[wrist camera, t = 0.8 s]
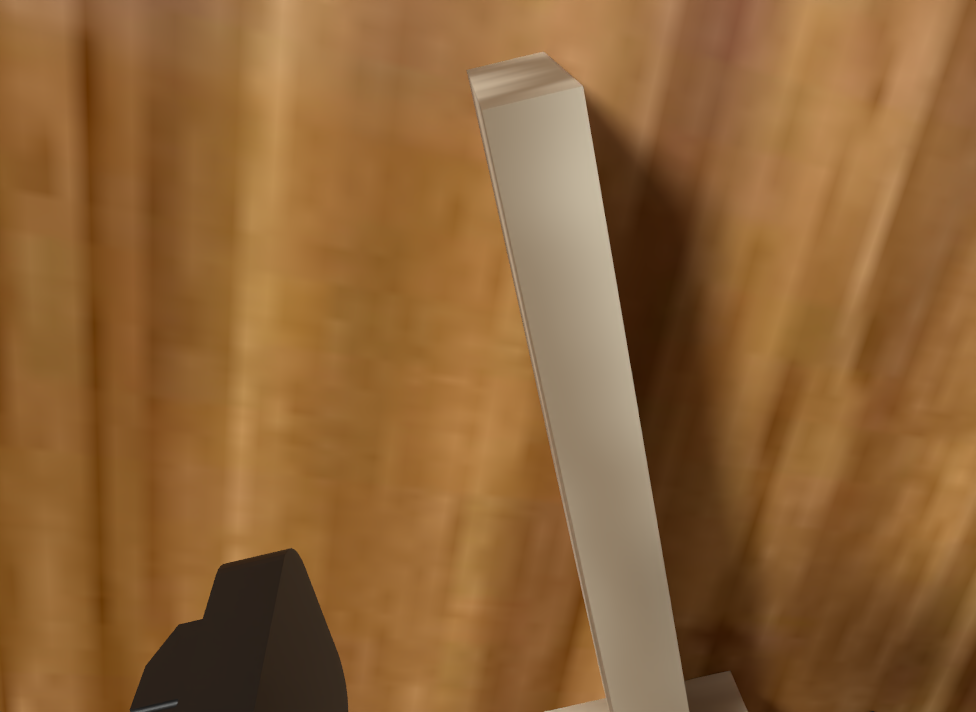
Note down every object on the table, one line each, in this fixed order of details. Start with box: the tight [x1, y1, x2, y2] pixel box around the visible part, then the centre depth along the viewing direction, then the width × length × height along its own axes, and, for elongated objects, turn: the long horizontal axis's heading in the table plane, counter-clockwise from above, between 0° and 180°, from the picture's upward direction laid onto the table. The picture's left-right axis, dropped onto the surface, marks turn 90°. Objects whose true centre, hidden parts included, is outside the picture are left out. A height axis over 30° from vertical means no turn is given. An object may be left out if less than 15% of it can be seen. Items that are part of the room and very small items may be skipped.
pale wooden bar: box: [467, 52, 748, 712], centre depth 25 cm, size 7×24×6 cm, turn 12°
